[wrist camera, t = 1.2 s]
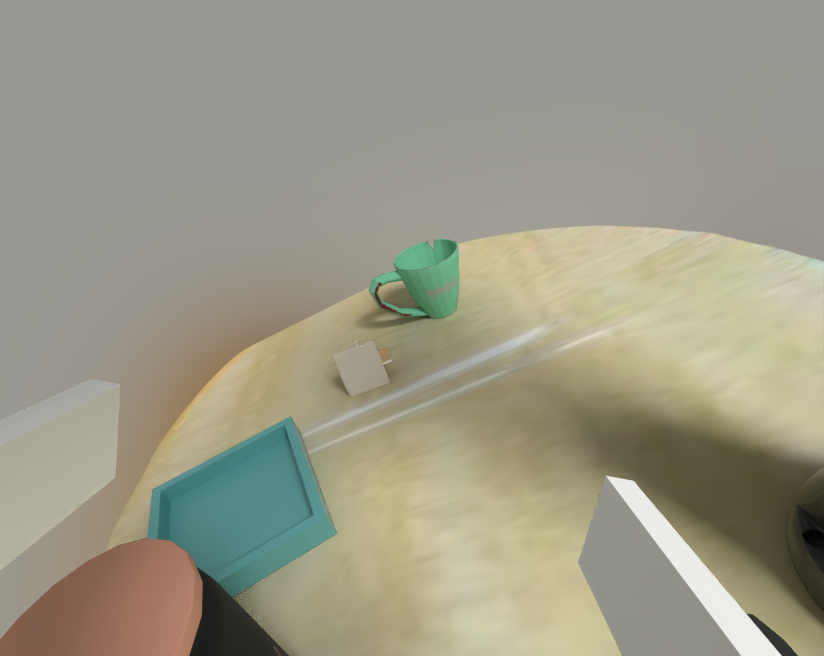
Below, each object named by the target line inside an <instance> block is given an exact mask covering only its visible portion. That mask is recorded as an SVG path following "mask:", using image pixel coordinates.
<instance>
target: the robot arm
mask: <svg viewBox="0 0 824 656" xmlns="http://www.w3.org/2000/svg"><path fill="white" fill-rule="evenodd" d="M119 398H120V385H119V384H114V383H109V382H104V381H99V380H93V379H90V380H88V381H86V382H84V383H81V384H79V385H77V386H75V387H72V388H70V389H68V390H66V391H64V392H61V393H59V394H57V395H55V396H52V397H50V398H48V399H46V400H44V401H41V402H39V403H37V404H35V405H33V406H30V407H28V408H26V409H24V410H21V411H19V412H17V413H15V414H13V415H10V416H8V417H6V418H4V419H1V420H0V570H1V569H2V568H4V567H5V566H6V565H8V564H9V563H10V562H11V561H12V560H14V559H15V558H16V557H17V556H19V555H20V554H21V553H22V552H24V551H25V550H26V549H27V548H29V547H30V546H31V545H32V544H33V543H35V542H36V541H37V540H38V539H40V538H41V537H42V536H43V535H45V534H46V533H47V532H48V531H50V530H51V529H52V528H53V527H55V526H56V525H57V524H58V523H60V522H61V521H62V520H63V519H64V518H66V517H67V516H68V515H69V514H71V513H72V512H73V511H74V510H76V509H77V508H78V507H79V506H80V505H82V504H83V503H84V502H85V501H87V500H88V499H89V498H90V497H92V496H93V495H94V494H95V493H97V492H98V491H99V490H100V489H102V488H103V487H104V486H105V485H107V484H108V483H109V482H110V481H112V480H113V479H114V478H115V474H116V455H117V435H118V417H119ZM788 543H789V549H790V553H791V556H792V559H793V562H794V564H795V567H796V569H797V571H798V573H799V575H800V577H801V579H802V581H803V582H804V584H805V586H806V587H807V589H808V590H809V592H810V593H811V595H812V596H813V598H814V599H815V600H816V602H817V603H818V604H819V605H820V607H821V608H822V609H823V610H824V466H823V467H822V468H821V469H820V470H818V471H817V472H816V473H815V474H813V475H812V476H811V477H810V478H809V479H808V480H807V481H806V482H805V483H804V485H803V486H802V487H801V489H800V490H799V492H798V494H797V496H796V498H795V501H794V504H793V507H792V511H791V515H790V519H789V523H788ZM578 563H579V565H580V567H581V569H582V571H583V574H584V576H585V578H586V580H587V582H588V584H589V586H590V588H591V590H592V593H593V595H594V597H595V599H596V601H597V603H598V605H599V607H600V610H601V612H602V614H603V616H604V618H605V620H606V622H607V624H608V626H609V629H610V631H611V633H612V635H613V637H614V639H615V641H616V643H617V645H618V648H619V650H620V652H621V654H622V656H798V655H797V654H796V653H795V652H794V651H793V650H792V648H791V647H790V646H789V645H788V644H787V643H786V642H785V641H784V640H783V639H782V638H781V637H780V636H779V635H777V634H776V633H775V632H774V631H772V630H771V629H770V628H769V627H768V626H766V625H765V624H764V623H763V622H761V621H760V620H759V619H758V618H757V617H755V616H754V615H752V614H746V613H745V612H744V611H743V610H742V608H741V607H740V606H739V605H738V604H737V602H736V601H735V600H734V599H733V598H732V597H731V595H730V594H729V593H728V592H727V591H726V590H725V588H724V587H723V586H722V585H721V584H720V582H719V581H718V580H717V579H716V578H715V577H714V575H713V574H712V573H711V572H710V571H709V569H708V568H707V567H706V566H705V565H704V564H703V562H702V561H701V560H700V559H699V558H698V556H697V555H696V554H695V553H694V552H693V551H692V549H691V548H690V547H689V546H688V545H687V543H686V542H685V541H684V540H683V539H682V538H681V536H680V535H679V534H678V533H677V532H676V530H675V529H674V528H673V527H672V526H671V525H670V523H669V522H668V521H667V520H666V519H665V517H664V516H663V515H662V514H661V513H660V512H659V510H658V509H657V508H656V507H655V506H654V505H653V503H652V502H651V501H650V500H649V499H648V497H647V496H646V495H645V494H644V493H643V492H642V490H641V489H640V488H639V487H638V486H637V484H636V483H635V482H634V481H632V480H626V479H621V478H616V477H610V476H606V477H605V480H604V483H603V486H602V489H601V492H600V495H599V499H598V502H597V505H596V508H595V511H594V514H593V517H592V520H591V524H590V527H589V530H588V533H587V536H586V539H585V542H584V546H583V549H582V552H581V555H580V558H579V561H578Z"/></svg>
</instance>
